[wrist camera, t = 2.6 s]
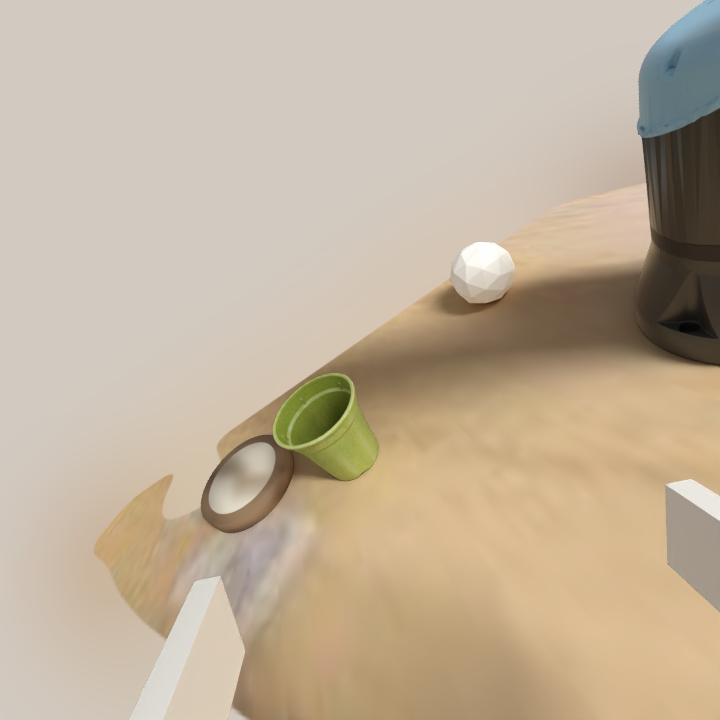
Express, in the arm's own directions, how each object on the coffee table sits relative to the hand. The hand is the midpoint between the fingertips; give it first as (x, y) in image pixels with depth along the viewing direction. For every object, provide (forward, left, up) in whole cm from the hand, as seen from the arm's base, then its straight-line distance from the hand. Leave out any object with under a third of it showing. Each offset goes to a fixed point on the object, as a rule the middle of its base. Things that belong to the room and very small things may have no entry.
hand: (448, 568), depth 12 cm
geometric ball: (-42, -6, -19) cm, 47 cm away
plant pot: (-18, -20, -19) cm, 33 cm away
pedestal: (-15, -34, -19) cm, 42 cm away
